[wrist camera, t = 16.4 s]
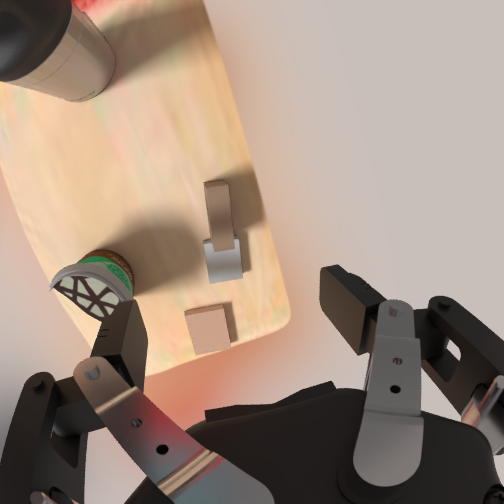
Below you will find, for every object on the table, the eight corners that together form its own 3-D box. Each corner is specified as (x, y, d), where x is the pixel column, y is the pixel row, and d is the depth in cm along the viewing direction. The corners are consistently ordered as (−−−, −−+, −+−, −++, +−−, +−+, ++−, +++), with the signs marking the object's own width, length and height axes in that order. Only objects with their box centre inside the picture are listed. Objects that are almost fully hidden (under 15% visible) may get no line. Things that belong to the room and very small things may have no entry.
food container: (159, 274, 40) (154, 311, 31) (137, 303, 41) (128, 344, 32) (91, 223, 36) (66, 248, 26) (71, 256, 36) (45, 288, 27)
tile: (184, 315, 42) (195, 355, 45) (223, 308, 43) (231, 348, 46) (184, 309, 44) (195, 348, 47) (222, 302, 45) (229, 341, 48)
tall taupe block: (195, 183, 37) (196, 189, 33) (231, 178, 38) (237, 183, 33) (208, 279, 42) (212, 295, 38) (241, 273, 43) (248, 289, 39)
